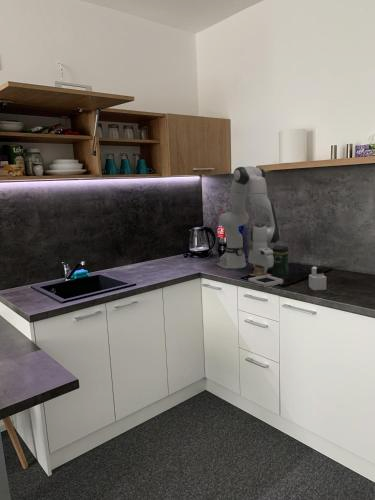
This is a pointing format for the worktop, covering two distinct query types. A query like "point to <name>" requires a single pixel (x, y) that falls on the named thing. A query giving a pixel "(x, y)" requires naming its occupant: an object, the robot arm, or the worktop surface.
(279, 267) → the coffee jar
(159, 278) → the worktop surface
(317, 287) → the medicine bottle
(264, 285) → the tray
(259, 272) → the collar
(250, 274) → the stake
